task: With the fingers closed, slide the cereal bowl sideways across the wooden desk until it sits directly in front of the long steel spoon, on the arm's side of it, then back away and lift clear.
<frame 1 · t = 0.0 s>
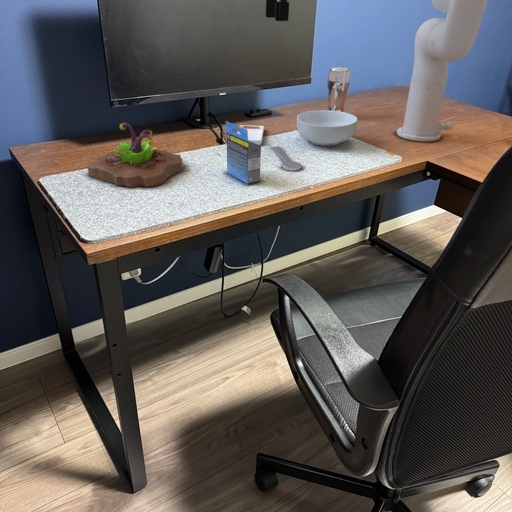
hand: (276, 19, 121), 31 cm above the table, tool pointing down, fingers open, 9 cm apart
blue cardboard box: (243, 177, 113), on the table
phone case: (249, 137, 141), on the table
spoon: (285, 160, 124), on the table
cereal bowl: (324, 142, 138), on the table
beer glass: (334, 116, 163), on the table
plant: (137, 171, 115), on the table
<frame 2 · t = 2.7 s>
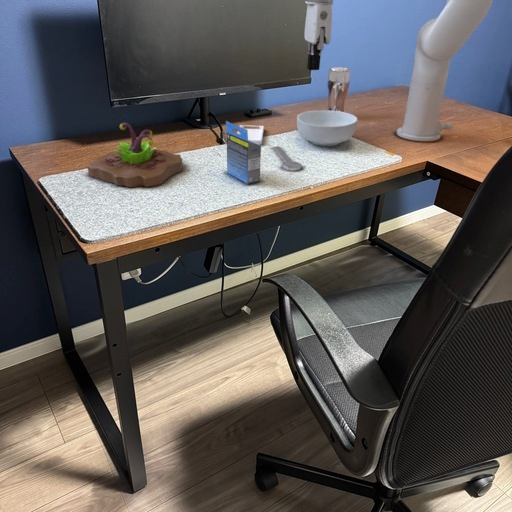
hand: (313, 69, 141), 17 cm above the table, tool pointing down, fingers closed
nothing on the table moved.
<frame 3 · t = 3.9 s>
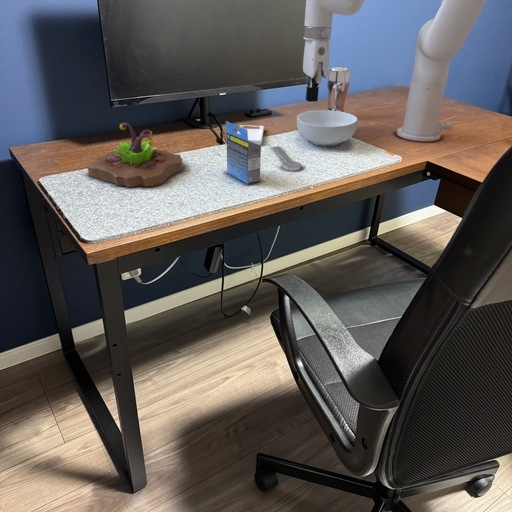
hand: (311, 100, 145), 8 cm above the table, tool pointing down, fingers closed
nothing on the table moved.
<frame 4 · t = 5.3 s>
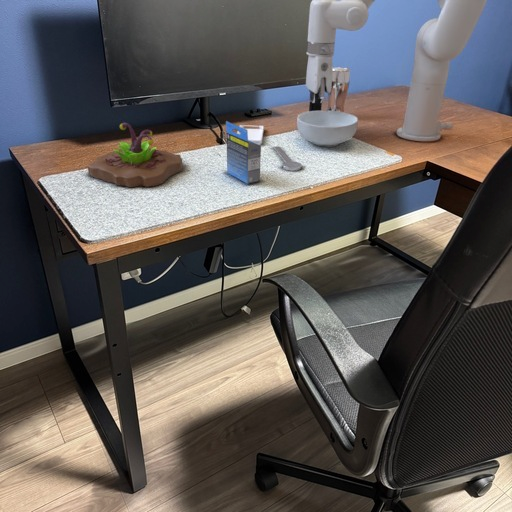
hand: (314, 115, 144), 5 cm above the table, tool pointing down, fingers closed
cereal bowl: (325, 143, 138), on the table, touching gripper
everything else where it was.
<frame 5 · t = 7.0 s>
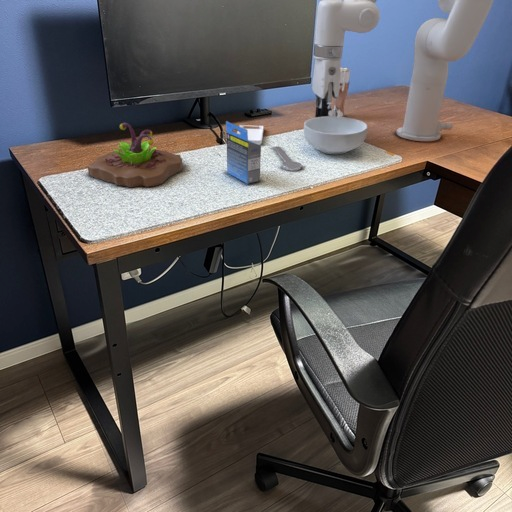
hand: (321, 121, 138), 5 cm above the table, tool pointing down, fingers closed
cereal bowl: (332, 150, 132), on the table, touching gripper
everything else where it was.
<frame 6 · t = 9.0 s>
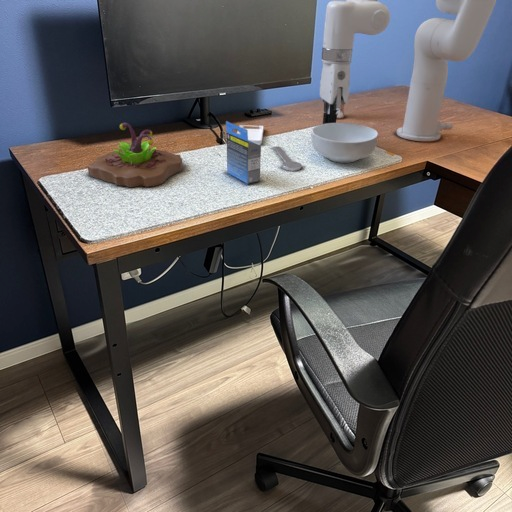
hand: (328, 128, 132), 5 cm above the table, tool pointing down, fingers closed
cereal bowl: (341, 158, 126), on the table, touching gripper
everything else where it was.
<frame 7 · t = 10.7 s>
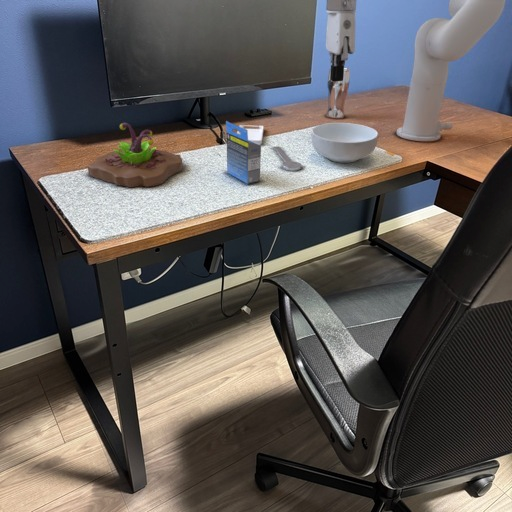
hand: (336, 80, 134), 16 cm above the table, tool pointing down, fingers closed
cereal bowl: (341, 158, 126), on the table
everything else where it was.
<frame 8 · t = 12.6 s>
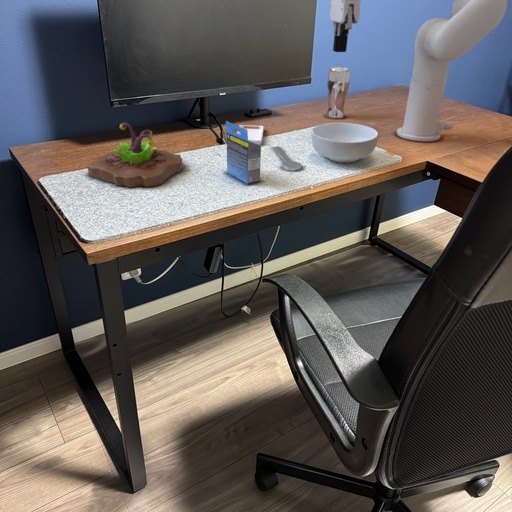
hand: (339, 51, 132), 23 cm above the table, tool pointing down, fingers closed
nothing on the table moved.
at the end: cereal bowl inside the target area on the table beside the spoon (0.8 cm from its centre), on the table; cereal bowl moved 13.7 cm from its start; cereal bowl tilted 0° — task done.
